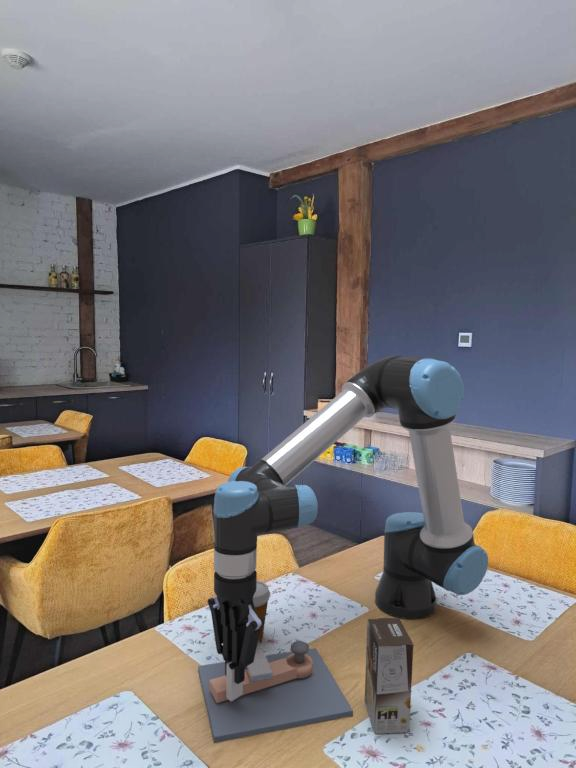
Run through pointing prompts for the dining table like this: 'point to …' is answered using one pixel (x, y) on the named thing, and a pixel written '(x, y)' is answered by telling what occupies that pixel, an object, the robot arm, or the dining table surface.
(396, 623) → the coffee box
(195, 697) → the dining table surface
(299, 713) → the mount board
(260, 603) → the disposable coffee cup
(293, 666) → the link
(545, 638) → the dining table surface
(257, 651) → the block
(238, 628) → the robot arm
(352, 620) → the dining table surface
